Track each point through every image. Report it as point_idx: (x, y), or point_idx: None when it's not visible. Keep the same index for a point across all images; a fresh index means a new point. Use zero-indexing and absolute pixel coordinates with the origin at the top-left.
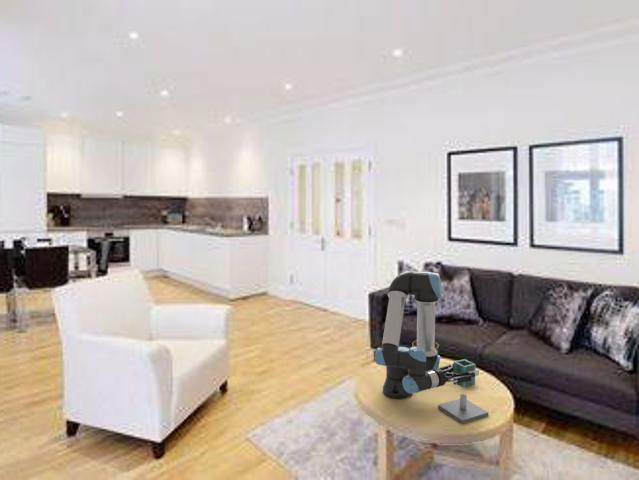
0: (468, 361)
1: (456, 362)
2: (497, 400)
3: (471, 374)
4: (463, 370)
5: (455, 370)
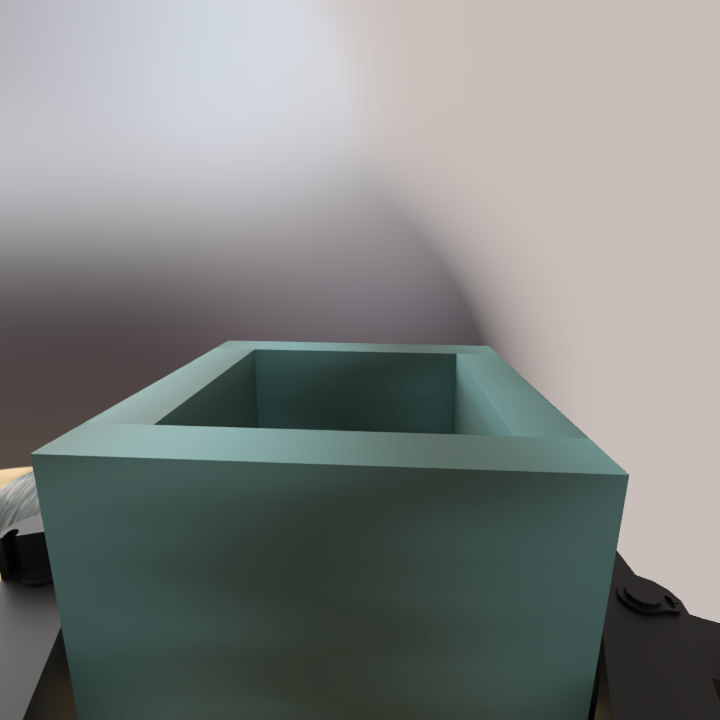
0: (335, 347)
1: (165, 438)
2: None
3: (629, 571)
4: (572, 608)
5: (179, 707)
